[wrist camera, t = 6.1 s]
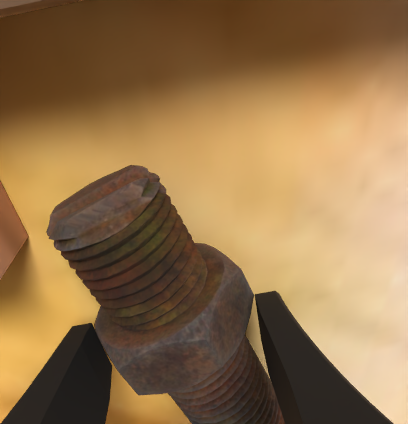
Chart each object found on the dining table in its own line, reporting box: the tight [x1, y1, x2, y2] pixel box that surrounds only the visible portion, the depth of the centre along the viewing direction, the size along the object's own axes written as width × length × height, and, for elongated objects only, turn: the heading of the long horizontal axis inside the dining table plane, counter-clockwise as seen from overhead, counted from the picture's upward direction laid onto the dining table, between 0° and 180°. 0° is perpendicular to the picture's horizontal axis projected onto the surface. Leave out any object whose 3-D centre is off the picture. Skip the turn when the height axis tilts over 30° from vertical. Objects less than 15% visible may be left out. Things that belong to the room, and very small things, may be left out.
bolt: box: [47, 165, 285, 424], centre depth 13 cm, size 6×5×15 cm
